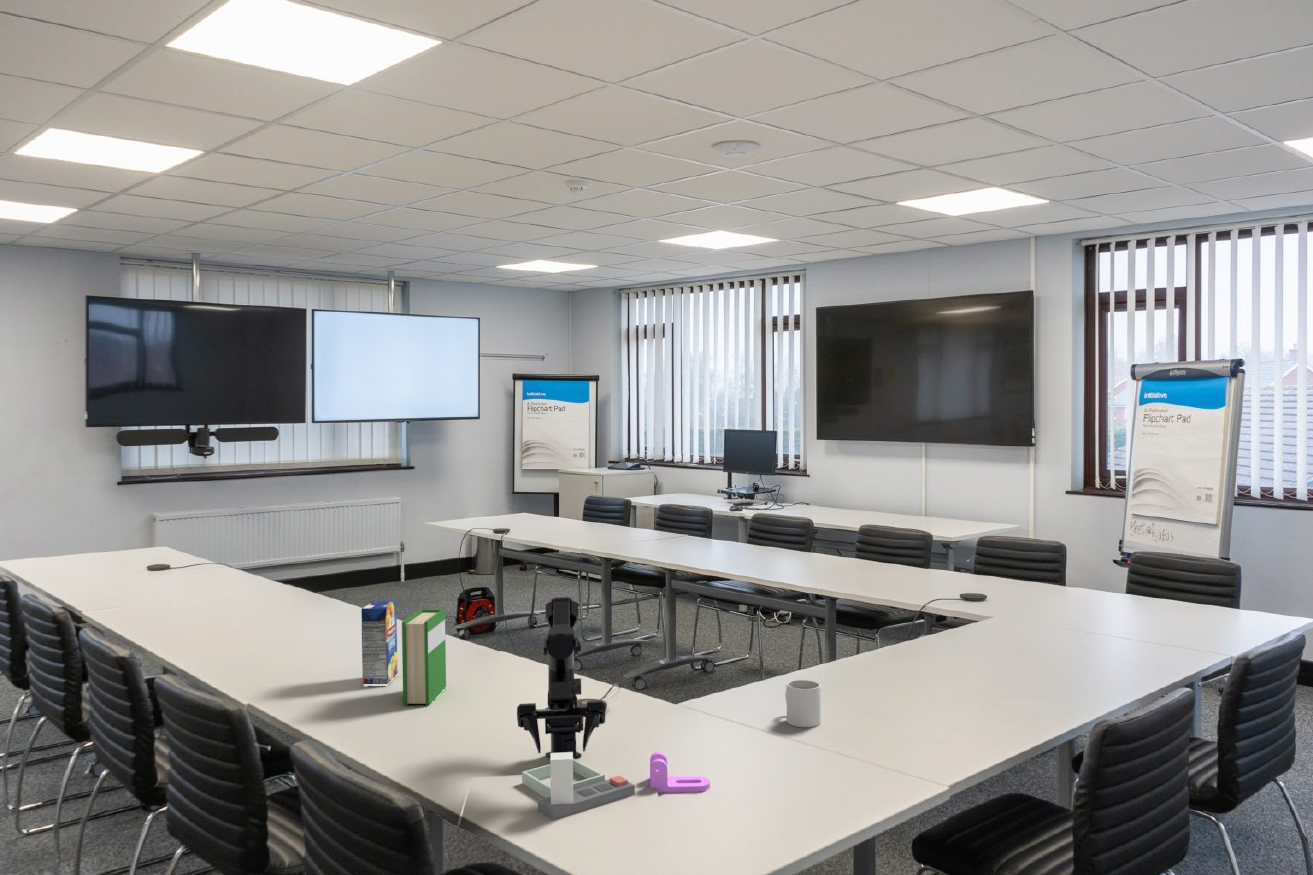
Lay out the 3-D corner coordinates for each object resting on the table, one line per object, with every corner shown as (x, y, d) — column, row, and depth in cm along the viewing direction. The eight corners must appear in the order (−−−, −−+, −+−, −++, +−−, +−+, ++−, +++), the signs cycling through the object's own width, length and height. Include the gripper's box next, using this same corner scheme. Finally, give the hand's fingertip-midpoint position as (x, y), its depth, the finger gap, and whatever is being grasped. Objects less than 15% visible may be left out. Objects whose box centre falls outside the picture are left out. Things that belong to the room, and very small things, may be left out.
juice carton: (374, 676, 292) (372, 601, 292) (397, 675, 293) (396, 600, 292) (362, 686, 280) (361, 608, 280) (387, 686, 281) (385, 608, 280)
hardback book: (428, 706, 260) (427, 622, 260) (403, 706, 260) (401, 622, 260) (446, 688, 278) (444, 609, 277) (422, 688, 278) (420, 609, 278)
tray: (522, 787, 201) (522, 771, 201) (572, 773, 209) (572, 757, 209) (553, 806, 190) (552, 790, 190) (605, 790, 198) (604, 774, 198)
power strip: (553, 825, 182) (552, 805, 182) (537, 815, 187) (537, 796, 187) (634, 798, 194) (634, 781, 194) (618, 790, 199) (618, 772, 199)
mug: (820, 728, 237) (819, 689, 237) (783, 726, 239) (782, 688, 239) (821, 715, 248) (820, 678, 248) (785, 713, 250) (785, 676, 250)
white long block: (551, 806, 188) (550, 752, 188) (573, 805, 189) (572, 751, 189) (551, 814, 184) (550, 760, 184) (573, 813, 185) (572, 758, 185)
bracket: (650, 793, 197) (649, 761, 197) (650, 783, 203) (649, 751, 203) (710, 792, 197) (710, 760, 197) (709, 782, 203) (708, 750, 203)
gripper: (516, 666, 195) (514, 735, 185) (604, 663, 197) (607, 730, 186) (519, 692, 203) (517, 760, 192) (603, 689, 205) (606, 756, 194)
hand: (561, 751), depth 191 cm, fingers open, 9 cm apart
